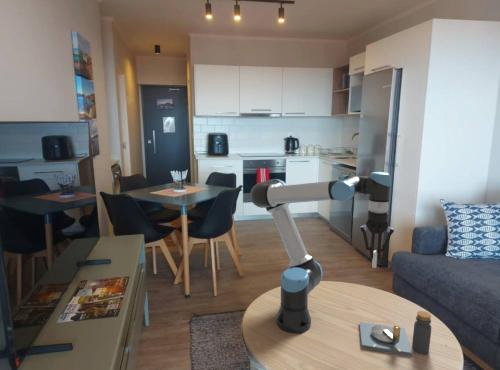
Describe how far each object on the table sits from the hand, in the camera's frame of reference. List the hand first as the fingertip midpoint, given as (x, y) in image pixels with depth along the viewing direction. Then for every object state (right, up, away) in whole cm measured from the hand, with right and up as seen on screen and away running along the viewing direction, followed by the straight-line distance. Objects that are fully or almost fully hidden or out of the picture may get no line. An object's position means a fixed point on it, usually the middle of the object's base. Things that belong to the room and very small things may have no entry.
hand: (374, 266), depth 137 cm
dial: (+4, -28, -3) cm, 28 cm away
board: (+3, -29, -2) cm, 29 cm away
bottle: (+15, -30, -8) cm, 35 cm away
